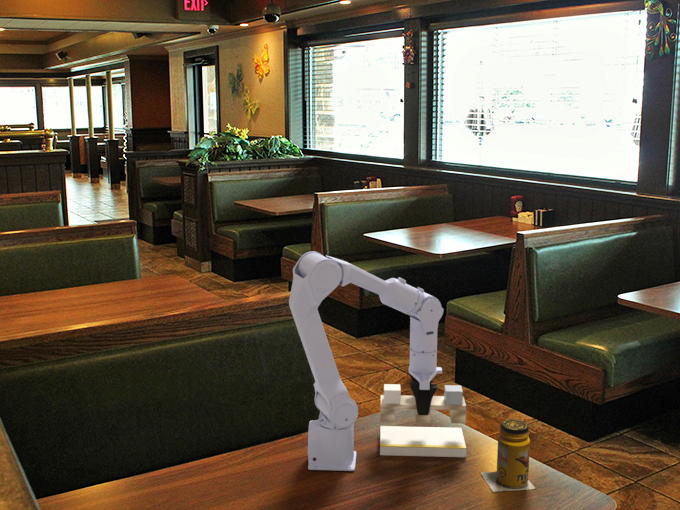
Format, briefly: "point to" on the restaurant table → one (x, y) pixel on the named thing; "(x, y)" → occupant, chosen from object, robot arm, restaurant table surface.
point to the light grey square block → (453, 395)
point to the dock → (422, 441)
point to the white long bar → (437, 403)
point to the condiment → (511, 458)
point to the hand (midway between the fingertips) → (422, 409)
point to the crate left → (392, 394)
